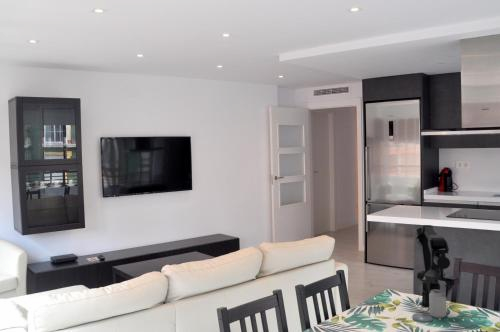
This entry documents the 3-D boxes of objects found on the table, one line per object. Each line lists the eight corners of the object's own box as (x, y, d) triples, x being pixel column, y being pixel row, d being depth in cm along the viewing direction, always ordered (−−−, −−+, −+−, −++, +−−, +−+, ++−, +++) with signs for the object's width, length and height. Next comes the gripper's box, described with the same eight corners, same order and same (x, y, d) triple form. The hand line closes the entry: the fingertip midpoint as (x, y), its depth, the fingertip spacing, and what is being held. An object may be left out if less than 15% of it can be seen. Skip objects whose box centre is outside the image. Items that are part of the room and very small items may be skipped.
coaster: (408, 319, 228) (408, 316, 228) (418, 314, 234) (418, 311, 234) (426, 324, 221) (426, 321, 221) (436, 318, 227) (436, 316, 227)
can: (443, 313, 235) (443, 288, 234) (448, 318, 227) (448, 293, 227) (427, 312, 235) (427, 288, 235) (431, 318, 228) (431, 293, 227)
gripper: (410, 263, 232) (410, 295, 233) (448, 270, 218) (448, 304, 219) (422, 259, 239) (422, 290, 240) (459, 265, 225) (459, 298, 226)
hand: (437, 295), depth 231 cm, fingers open, 9 cm apart
